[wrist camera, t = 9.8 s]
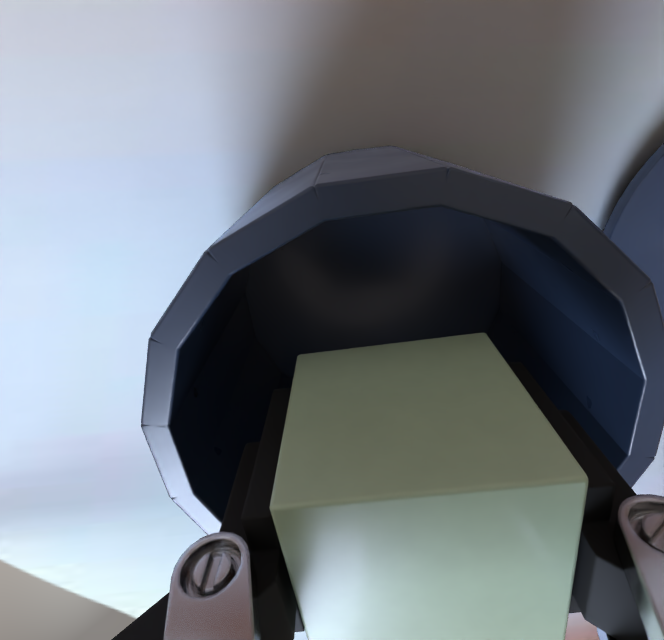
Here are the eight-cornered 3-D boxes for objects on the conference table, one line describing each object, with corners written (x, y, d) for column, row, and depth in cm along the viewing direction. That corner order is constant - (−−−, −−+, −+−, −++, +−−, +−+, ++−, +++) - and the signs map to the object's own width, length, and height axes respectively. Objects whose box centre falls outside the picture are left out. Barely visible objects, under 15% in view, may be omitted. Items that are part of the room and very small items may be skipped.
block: (296, 353, 10) (267, 508, 6) (485, 330, 10) (592, 478, 6) (325, 488, 12) (317, 677, 8) (484, 474, 12) (563, 662, 8)
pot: (263, 107, 16) (170, 83, 7) (564, 197, 17) (804, 272, 8) (215, 377, 21) (127, 556, 12) (449, 430, 22) (520, 628, 13)
